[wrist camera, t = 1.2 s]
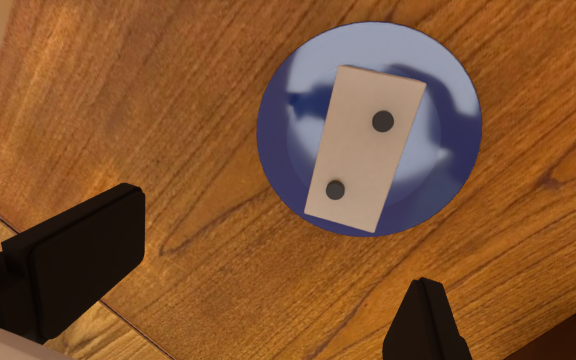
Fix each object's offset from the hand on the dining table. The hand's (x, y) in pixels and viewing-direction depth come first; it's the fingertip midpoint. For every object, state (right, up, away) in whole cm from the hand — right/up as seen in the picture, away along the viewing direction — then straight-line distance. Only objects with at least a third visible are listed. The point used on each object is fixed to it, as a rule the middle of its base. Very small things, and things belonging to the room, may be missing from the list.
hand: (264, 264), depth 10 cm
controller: (+6, +6, +12) cm, 15 cm away
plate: (+6, +6, +13) cm, 16 cm away
